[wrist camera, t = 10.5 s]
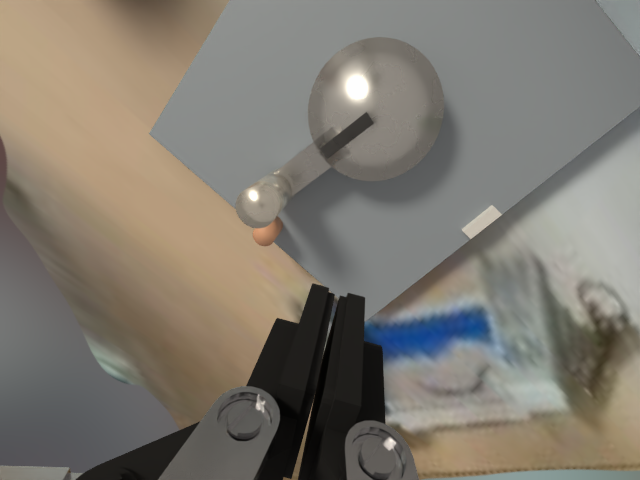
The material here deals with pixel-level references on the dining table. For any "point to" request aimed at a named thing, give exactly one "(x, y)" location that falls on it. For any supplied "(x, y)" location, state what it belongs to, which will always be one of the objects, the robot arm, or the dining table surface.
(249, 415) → the robot arm
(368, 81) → the grey piece
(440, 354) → the dining table surface
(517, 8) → the board
